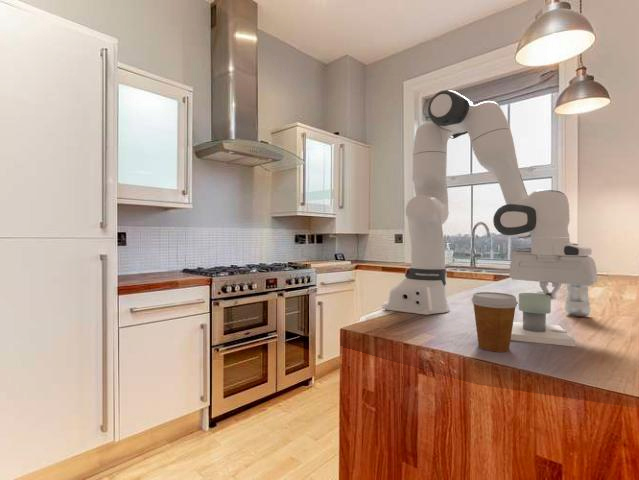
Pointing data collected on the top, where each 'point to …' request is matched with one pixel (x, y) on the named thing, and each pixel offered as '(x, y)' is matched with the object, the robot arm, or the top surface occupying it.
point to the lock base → (540, 331)
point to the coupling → (535, 303)
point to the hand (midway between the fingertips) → (550, 299)
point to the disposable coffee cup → (494, 319)
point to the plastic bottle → (577, 300)
